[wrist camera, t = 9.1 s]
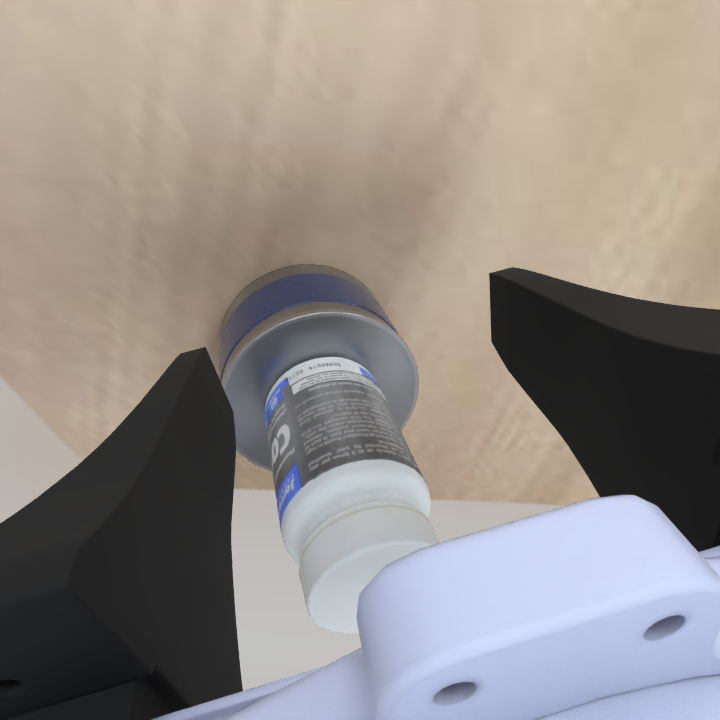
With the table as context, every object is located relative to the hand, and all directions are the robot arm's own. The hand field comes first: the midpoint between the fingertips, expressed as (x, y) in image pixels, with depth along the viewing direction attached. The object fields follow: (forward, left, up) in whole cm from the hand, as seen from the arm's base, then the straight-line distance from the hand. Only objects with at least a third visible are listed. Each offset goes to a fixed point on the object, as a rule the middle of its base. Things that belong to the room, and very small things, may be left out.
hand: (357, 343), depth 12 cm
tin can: (-4, -5, -10) cm, 12 cm away
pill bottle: (-4, -5, -6) cm, 8 cm away
